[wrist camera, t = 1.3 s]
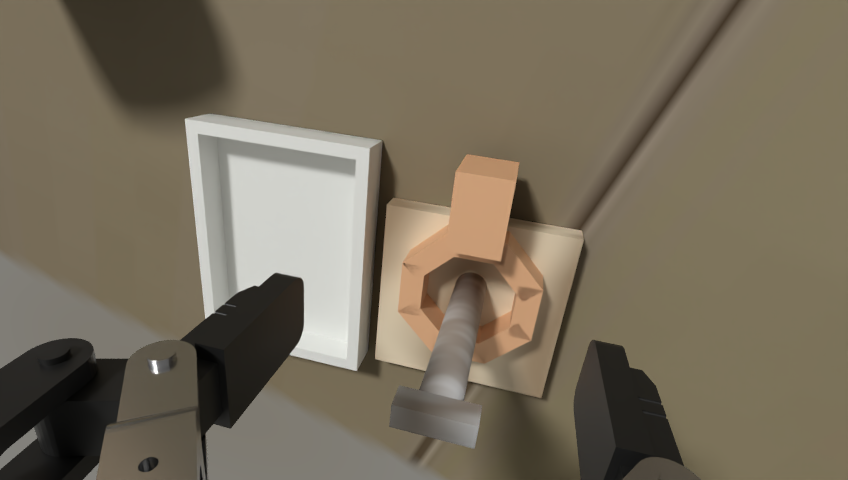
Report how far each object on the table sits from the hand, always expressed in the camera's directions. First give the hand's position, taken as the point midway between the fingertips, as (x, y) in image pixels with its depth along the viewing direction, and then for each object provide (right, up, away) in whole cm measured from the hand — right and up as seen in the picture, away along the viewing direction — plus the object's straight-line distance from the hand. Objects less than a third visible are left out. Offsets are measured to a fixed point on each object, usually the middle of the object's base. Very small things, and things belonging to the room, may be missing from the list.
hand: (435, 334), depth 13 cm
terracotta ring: (+3, +1, +16) cm, 17 cm away
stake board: (+3, -1, +19) cm, 19 cm away
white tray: (-10, +3, +20) cm, 23 cm away
